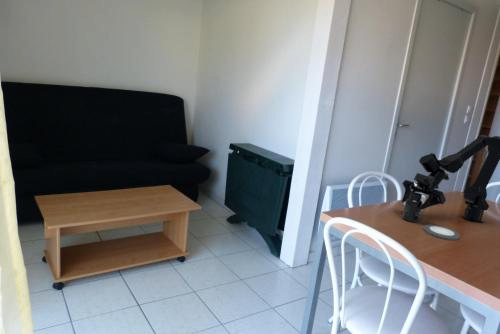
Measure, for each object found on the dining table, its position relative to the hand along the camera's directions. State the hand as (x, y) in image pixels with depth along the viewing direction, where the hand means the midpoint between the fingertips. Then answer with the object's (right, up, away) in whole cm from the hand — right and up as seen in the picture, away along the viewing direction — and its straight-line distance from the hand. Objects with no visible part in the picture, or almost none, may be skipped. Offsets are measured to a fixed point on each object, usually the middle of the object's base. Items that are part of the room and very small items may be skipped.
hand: (411, 205), depth 157 cm
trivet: (+7, -10, -10) cm, 16 cm away
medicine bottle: (+9, -4, +20) cm, 22 cm away
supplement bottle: (0, -7, +2) cm, 7 cm away
